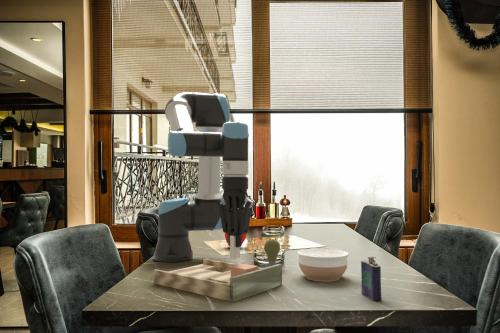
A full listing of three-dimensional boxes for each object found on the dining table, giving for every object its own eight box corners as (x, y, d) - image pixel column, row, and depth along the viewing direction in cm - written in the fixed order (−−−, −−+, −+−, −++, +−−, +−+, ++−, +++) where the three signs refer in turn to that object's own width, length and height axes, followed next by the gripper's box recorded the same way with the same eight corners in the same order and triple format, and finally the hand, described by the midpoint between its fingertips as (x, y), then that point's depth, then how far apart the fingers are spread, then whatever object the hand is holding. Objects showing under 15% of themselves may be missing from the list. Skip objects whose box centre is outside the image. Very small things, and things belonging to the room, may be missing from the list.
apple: (250, 247, 195) (250, 220, 195) (238, 250, 186) (238, 222, 187) (232, 245, 200) (232, 219, 200) (220, 248, 192) (220, 220, 192)
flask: (359, 292, 118) (359, 253, 118) (369, 292, 118) (369, 253, 119) (373, 302, 109) (373, 260, 109) (384, 302, 109) (384, 259, 109)
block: (230, 281, 121) (230, 266, 121) (243, 277, 125) (243, 263, 125) (245, 284, 117) (245, 269, 117) (258, 280, 121) (258, 266, 122)
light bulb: (282, 266, 152) (281, 238, 152) (277, 269, 147) (277, 240, 147) (266, 265, 154) (266, 237, 154) (262, 268, 149) (262, 239, 149)
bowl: (317, 286, 125) (317, 258, 125) (287, 275, 139) (287, 250, 140) (359, 280, 133) (359, 254, 133) (327, 270, 147) (327, 246, 147)
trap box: (153, 283, 128) (153, 263, 128) (205, 270, 146) (205, 252, 146) (233, 302, 109) (233, 278, 109) (281, 284, 126) (281, 264, 126)
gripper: (209, 176, 125) (209, 257, 125) (244, 176, 117) (244, 263, 117) (226, 175, 131) (226, 253, 130) (261, 176, 123) (261, 258, 122)
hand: (235, 258), depth 123 cm, fingers closed
